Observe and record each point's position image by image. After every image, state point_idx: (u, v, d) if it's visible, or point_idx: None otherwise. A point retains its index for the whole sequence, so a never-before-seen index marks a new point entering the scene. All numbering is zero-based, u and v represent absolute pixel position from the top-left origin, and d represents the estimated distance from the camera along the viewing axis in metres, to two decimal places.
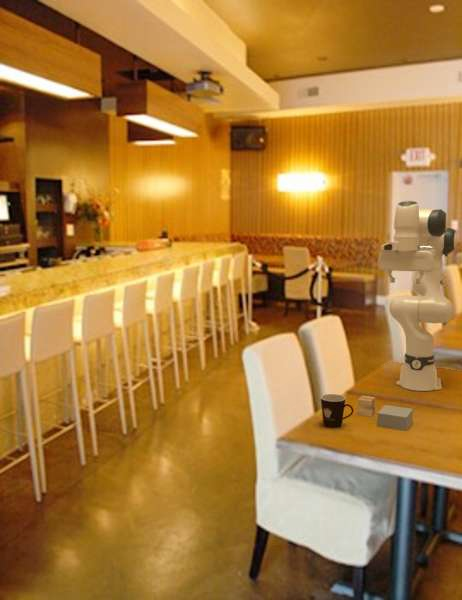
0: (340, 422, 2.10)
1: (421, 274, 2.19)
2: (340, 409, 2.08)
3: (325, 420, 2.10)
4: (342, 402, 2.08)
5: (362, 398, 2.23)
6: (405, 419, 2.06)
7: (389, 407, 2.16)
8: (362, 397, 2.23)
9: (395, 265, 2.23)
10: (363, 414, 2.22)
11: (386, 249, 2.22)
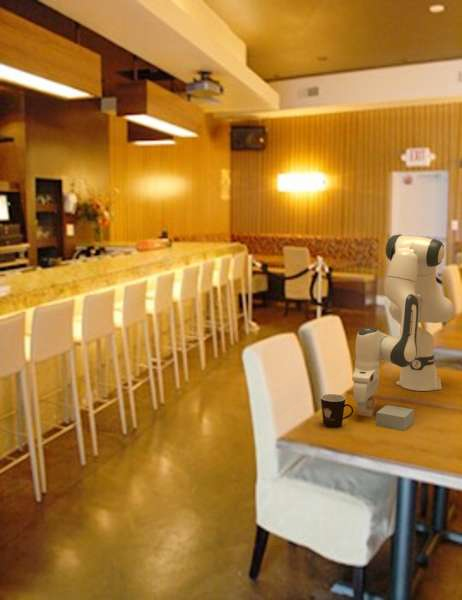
0: (340, 422, 2.10)
1: (372, 396, 2.26)
2: (340, 409, 2.08)
3: (325, 420, 2.10)
4: (342, 402, 2.08)
5: None
6: (403, 419, 2.05)
7: (390, 407, 2.16)
8: None
9: (369, 394, 2.19)
10: (363, 414, 2.22)
11: (371, 380, 2.14)
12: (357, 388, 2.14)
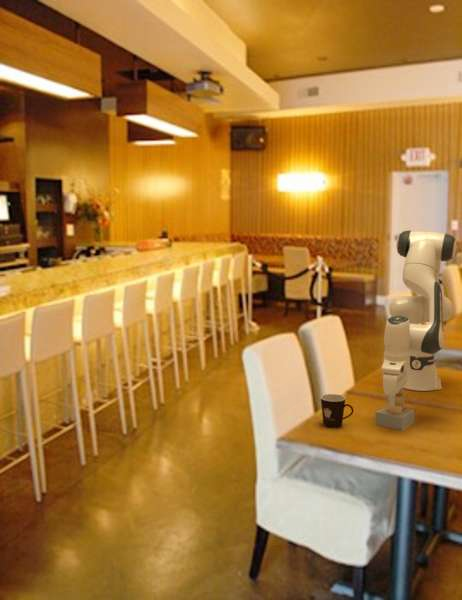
0: (340, 422, 2.10)
1: (402, 387, 2.16)
2: (340, 409, 2.08)
3: (325, 420, 2.10)
4: (342, 402, 2.08)
5: None
6: (401, 419, 2.05)
7: None
8: None
9: (399, 386, 2.07)
10: (392, 411, 2.10)
11: (401, 372, 2.03)
12: (387, 380, 2.02)
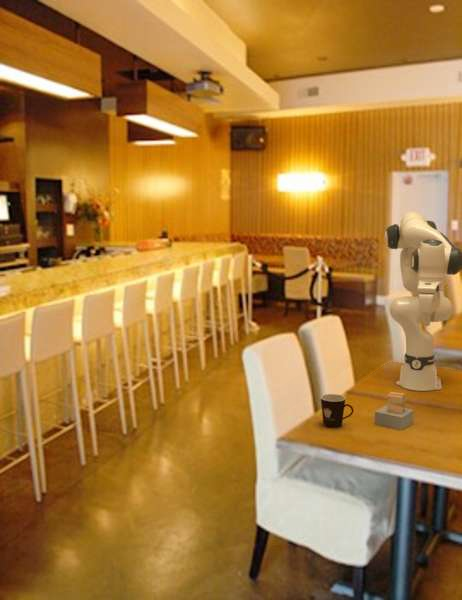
0: (340, 422, 2.10)
1: (436, 311, 2.21)
2: (340, 409, 2.08)
3: (325, 420, 2.10)
4: (342, 402, 2.08)
5: (391, 394, 2.11)
6: (400, 419, 2.06)
7: None
8: (392, 394, 2.12)
9: (433, 307, 2.12)
10: (393, 411, 2.10)
11: (437, 291, 2.08)
12: (423, 299, 2.08)
